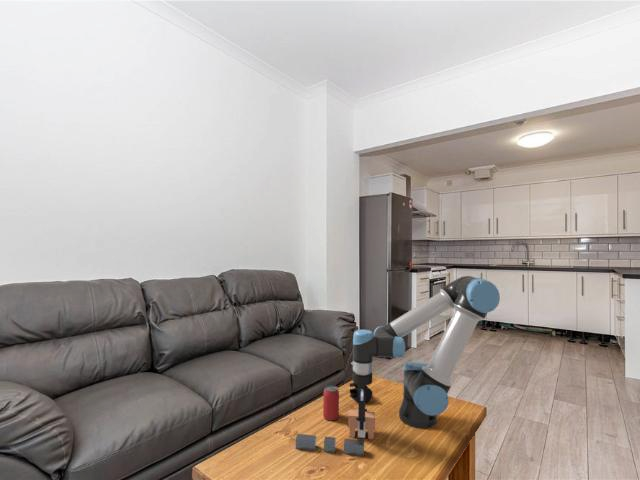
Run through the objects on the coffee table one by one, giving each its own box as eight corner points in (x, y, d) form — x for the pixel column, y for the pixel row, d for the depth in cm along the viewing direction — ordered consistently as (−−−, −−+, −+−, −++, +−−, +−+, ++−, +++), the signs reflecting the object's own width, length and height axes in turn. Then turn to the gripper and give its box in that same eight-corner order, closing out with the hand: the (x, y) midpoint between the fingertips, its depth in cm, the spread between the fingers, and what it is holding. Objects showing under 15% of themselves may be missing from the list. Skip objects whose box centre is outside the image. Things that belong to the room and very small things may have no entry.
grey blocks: (364, 450, 116) (364, 440, 116) (363, 455, 113) (364, 445, 113) (297, 443, 119) (297, 433, 119) (295, 448, 116) (295, 438, 116)
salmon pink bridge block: (374, 432, 127) (375, 412, 127) (375, 439, 122) (375, 417, 122) (348, 430, 128) (349, 409, 128) (348, 436, 124) (348, 415, 124)
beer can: (337, 422, 134) (338, 392, 134) (321, 420, 135) (322, 390, 135) (339, 414, 140) (340, 385, 141) (324, 412, 142) (325, 384, 142)
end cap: (372, 402, 152) (372, 387, 152) (359, 404, 149) (359, 389, 149) (362, 393, 161) (362, 379, 161) (349, 395, 158) (349, 381, 158)
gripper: (353, 362, 135) (352, 420, 134) (351, 380, 117) (350, 445, 117) (372, 364, 134) (371, 421, 133) (372, 381, 116) (371, 448, 116)
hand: (361, 433), depth 125 cm, fingers closed on salmon pink bridge block, 4 cm apart
